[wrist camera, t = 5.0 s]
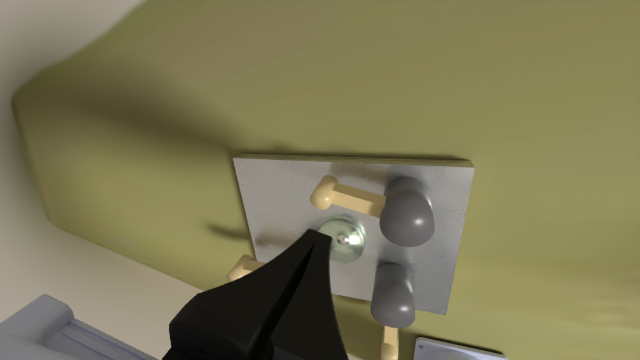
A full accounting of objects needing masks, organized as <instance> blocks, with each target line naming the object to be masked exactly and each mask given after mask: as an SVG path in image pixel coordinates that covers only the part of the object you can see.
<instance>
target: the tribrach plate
mask: <svg viewBox="0 0 640 360" xmlns="http://www.w3.org/2000/svg"><path fill="white" fill-rule="evenodd" d="M233 162H234V166H235V170H236V174H237V178H238V183H239V187H240V191H241V195H242V200H243V204H244V208H245V212H246V216H247V221H248V225H249V229H250V233H251V238H252V242H253V246H254V250H255V254H256V259H257V261H258V262H264V263H268V262H269V261H271V260H272V259H274V258H275V257H276V256H278V255H279V254H280V253H282V252H283V251H285V250H286V249H287V248H288V247H289V246H291V245H292V244H293V243H294V242H295V241H296V240H298V239H299V238H300V237H301V236H302V235H303V234H304V233H305V232H306V231H307V229H312V230H315V231H318V232H321V233H323V234H326V235H329V236H331V237H332V238H333V240H332V243H331V249H330V284H331V293H332V294H336V295H341V296H347V297H352V298H357V299H363V300H368V301H372V294H373V287H374V280H375V273H376V270H377V269H378V268H379V267H380V266H382V265H385V264H398V265H401V266H403V267H405V268H407V269H408V270H409V271H410V272H411V273H412V275H413V277H414V302H415V309H416V310H421V311H426V312H432V313H437V314H442V315H446V312H447V307H448V302H449V297H450V292H451V286H452V281H453V276H454V271H455V266H456V261H457V256H458V251H459V246H460V241H461V235H462V230H463V225H464V220H465V215H466V210H467V205H468V200H469V195H470V189H471V184H472V179H473V174H474V169H475V167H474V165H473V164H472V162H471V161H465V160H434V159H404V158H373V157H342V156H312V155H281V154H250V153H240V154H238V155H237V156H235V157H234V158H233ZM325 175H332V176H334V177H336V178H337V180H338V181H339V183H341V184H344V185H348V186H351V187H354V188H358V189H361V190H365V191H368V192H372V193H375V194H378V195H382V196H384V191H385V189H386V187H387V186H388V185H389V184H390V183H391V182H393V181H394V180H397V179H400V178H414V179H417V180H419V181H421V182H422V183H423V184H425V186H426V187H427V188H428V190H429V192H430V197H431V203H432V210H433V216H434V223H435V230H434V233H433V235H432V237H431V238H430V239H429V240H428V241H427V242H426V243H424V244H422V245H419V246H415V247H403V246H399V245H396V244H394V243H392V242H390V241H389V240H387V239H386V238H385V237H384V235H383V234H382V232H381V230H380V225H379V223H380V218H377V217H374V216H371V215H367V214H364V213H361V212H358V211H354V210H351V209H348V208H345V207H341V206H338V205H335V204H332V203H331V205H330V206H329V208H327V209H325V210H319V209H317V208H315V207H314V206H313V205H312V204H311V202H310V196H311V194H312V193H313V191H314V189H315V188H316V186H317V185H318V183H319V182H320V180H321V179H322V177H323V176H325Z"/></svg>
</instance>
